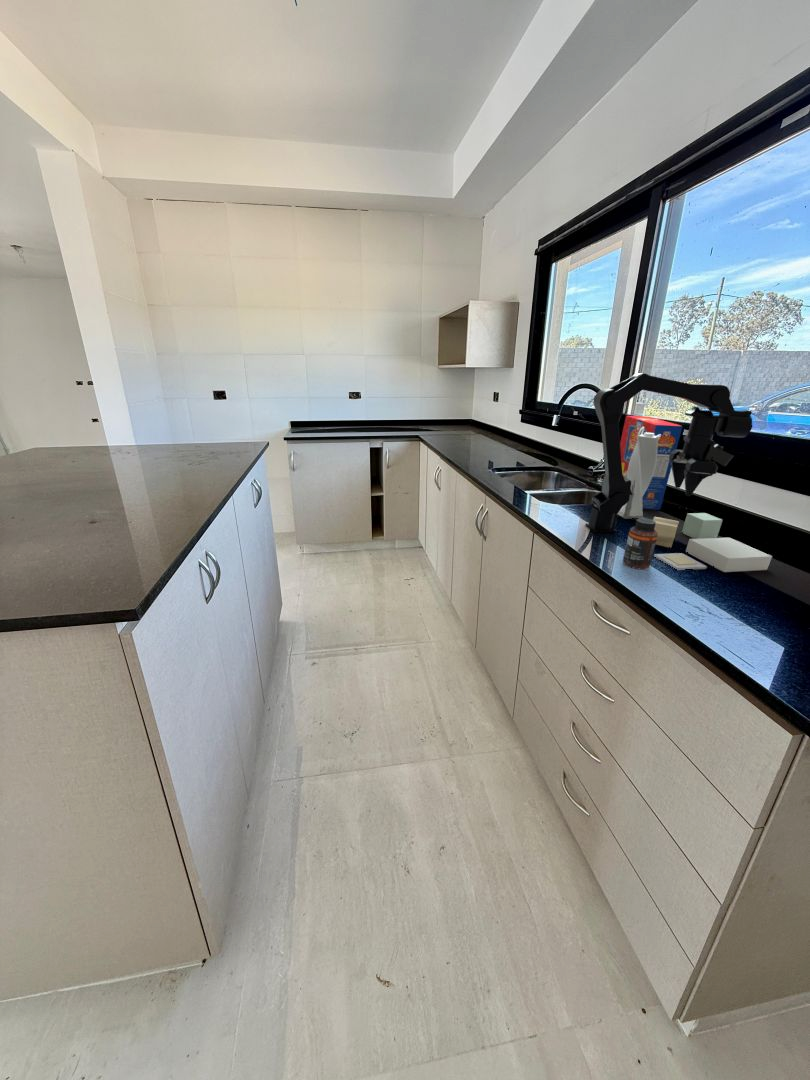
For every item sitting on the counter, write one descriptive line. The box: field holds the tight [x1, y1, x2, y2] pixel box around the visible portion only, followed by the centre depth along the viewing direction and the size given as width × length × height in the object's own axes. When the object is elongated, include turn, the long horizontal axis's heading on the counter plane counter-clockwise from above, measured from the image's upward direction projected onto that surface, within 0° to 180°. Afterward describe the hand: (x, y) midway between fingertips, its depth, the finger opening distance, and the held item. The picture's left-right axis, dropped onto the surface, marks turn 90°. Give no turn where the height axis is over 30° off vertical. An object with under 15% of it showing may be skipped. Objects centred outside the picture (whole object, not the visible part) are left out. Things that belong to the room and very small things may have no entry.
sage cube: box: [681, 512, 723, 539], centre depth 122 cm, size 6×6×6 cm
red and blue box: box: [620, 415, 683, 511], centre depth 154 cm, size 28×8×28 cm, turn 172°
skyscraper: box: [617, 426, 661, 520], centre depth 135 cm, size 8×8×28 cm
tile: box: [653, 552, 708, 571], centre depth 106 cm, size 8×8×1 cm
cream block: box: [685, 537, 773, 573], centre depth 107 cm, size 12×12×4 cm
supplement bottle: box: [622, 517, 658, 570], centre depth 102 cm, size 6×6×11 cm
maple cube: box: [652, 516, 680, 549], centre depth 117 cm, size 6×6×6 cm
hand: (682, 491), depth 119 cm, fingers open, 9 cm apart
